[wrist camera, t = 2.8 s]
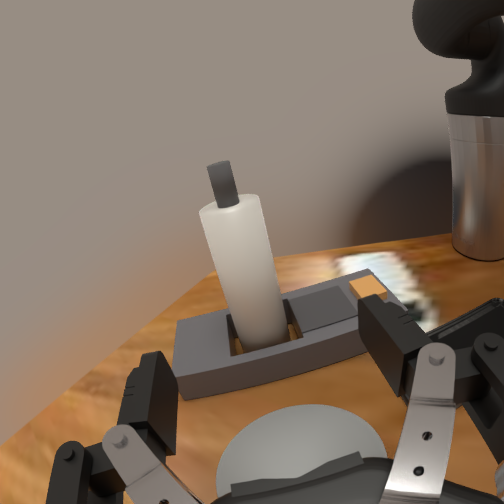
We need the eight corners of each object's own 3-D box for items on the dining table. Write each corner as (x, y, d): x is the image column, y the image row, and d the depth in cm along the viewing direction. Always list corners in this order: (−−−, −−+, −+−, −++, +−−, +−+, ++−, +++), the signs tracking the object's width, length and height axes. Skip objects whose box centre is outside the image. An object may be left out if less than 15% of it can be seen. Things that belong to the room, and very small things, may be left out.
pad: (354, 390, 21) (354, 385, 21) (411, 509, 11) (413, 507, 11) (214, 428, 21) (211, 423, 20) (226, 559, 11) (223, 558, 10)
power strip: (369, 292, 32) (367, 261, 30) (405, 336, 24) (408, 302, 23) (187, 342, 31) (174, 314, 30) (184, 400, 24) (167, 371, 22)
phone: (547, 336, 16) (422, 422, 16) (543, 345, 17) (420, 430, 16) (497, 294, 23) (377, 352, 23) (495, 303, 24) (376, 361, 23)
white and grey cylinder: (286, 329, 30) (245, 153, 23) (297, 359, 26) (253, 159, 19) (242, 341, 30) (189, 168, 23) (248, 372, 26) (184, 177, 19)
